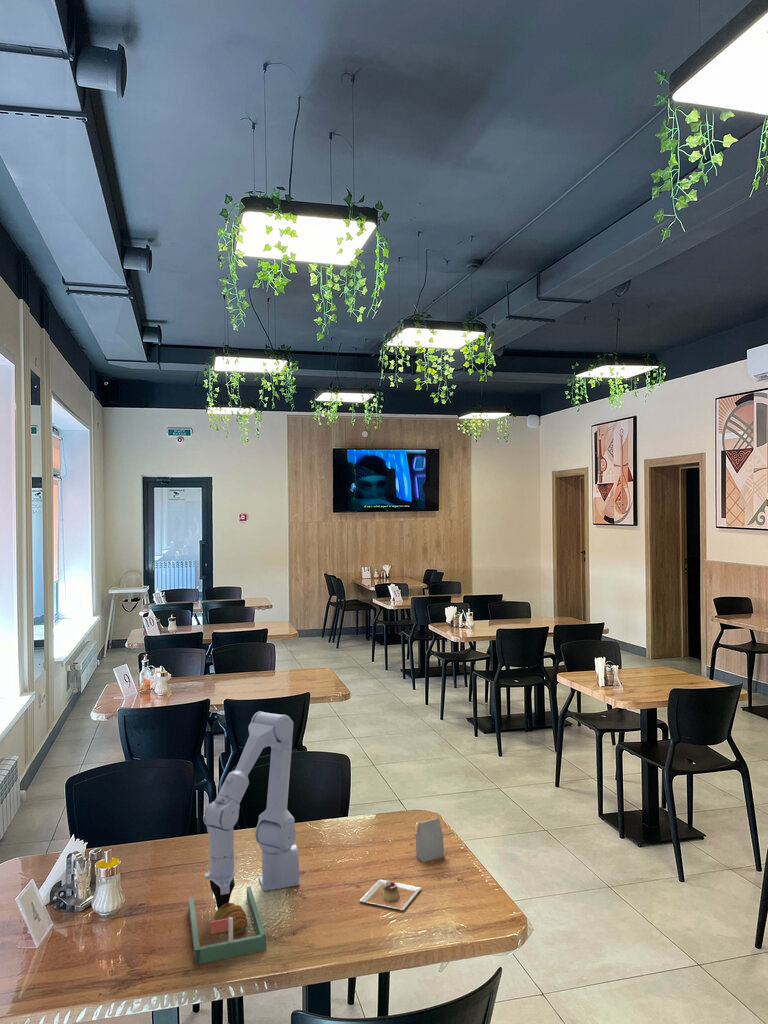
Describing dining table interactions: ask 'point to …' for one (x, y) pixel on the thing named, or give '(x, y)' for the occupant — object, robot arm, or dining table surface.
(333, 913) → the dining table surface
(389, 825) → the dining table surface
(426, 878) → the dining table surface
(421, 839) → the grey tall block
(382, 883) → the dessert
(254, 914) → the putting corral
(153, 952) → the dining table surface
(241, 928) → the pastry
